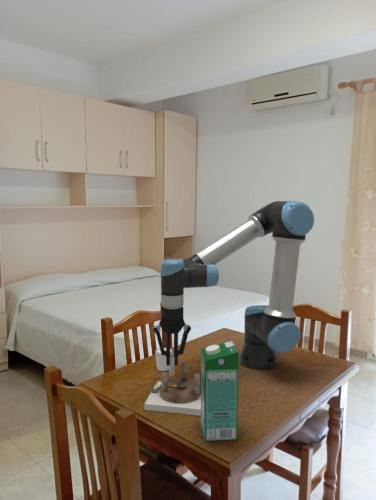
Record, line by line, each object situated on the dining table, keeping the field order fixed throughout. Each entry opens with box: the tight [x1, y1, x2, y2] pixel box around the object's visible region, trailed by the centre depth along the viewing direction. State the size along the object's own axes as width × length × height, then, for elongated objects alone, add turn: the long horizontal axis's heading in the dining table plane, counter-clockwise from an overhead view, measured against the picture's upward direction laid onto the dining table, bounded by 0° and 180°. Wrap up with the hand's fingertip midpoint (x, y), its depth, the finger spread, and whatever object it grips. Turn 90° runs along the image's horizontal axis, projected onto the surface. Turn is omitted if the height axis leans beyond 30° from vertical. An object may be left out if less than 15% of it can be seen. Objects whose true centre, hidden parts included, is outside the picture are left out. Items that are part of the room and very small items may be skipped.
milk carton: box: [200, 340, 240, 442], centre depth 112 cm, size 9×9×25 cm
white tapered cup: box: [154, 347, 174, 372], centre depth 156 cm, size 7×7×7 cm
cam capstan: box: [160, 361, 201, 403], centre depth 131 cm, size 14×14×8 cm
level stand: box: [143, 380, 201, 417], centre depth 130 cm, size 20×16×4 cm
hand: (171, 374), depth 136 cm, fingers closed
